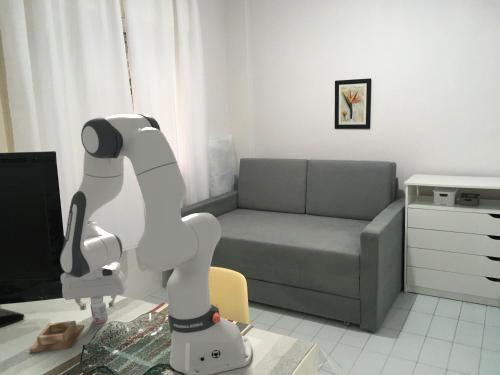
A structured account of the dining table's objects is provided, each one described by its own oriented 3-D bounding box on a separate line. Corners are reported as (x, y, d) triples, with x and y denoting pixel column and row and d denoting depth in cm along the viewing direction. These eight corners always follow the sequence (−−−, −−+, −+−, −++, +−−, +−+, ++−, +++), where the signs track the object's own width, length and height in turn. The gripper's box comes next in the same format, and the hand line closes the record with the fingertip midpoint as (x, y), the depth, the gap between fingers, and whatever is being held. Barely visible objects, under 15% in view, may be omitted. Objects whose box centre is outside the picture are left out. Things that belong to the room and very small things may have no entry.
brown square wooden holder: (84, 327, 136) (82, 317, 136) (71, 347, 124) (69, 337, 124) (47, 331, 136) (45, 321, 135) (30, 352, 124) (28, 341, 123)
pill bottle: (89, 322, 139) (85, 298, 138) (100, 315, 143) (97, 292, 142) (100, 324, 137) (96, 300, 136) (110, 317, 141) (107, 294, 140)
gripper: (55, 276, 133) (62, 315, 136) (120, 270, 134) (125, 309, 137) (63, 268, 140) (69, 306, 142) (124, 262, 141) (130, 300, 143)
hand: (97, 308), depth 140 cm, fingers open, 8 cm apart
